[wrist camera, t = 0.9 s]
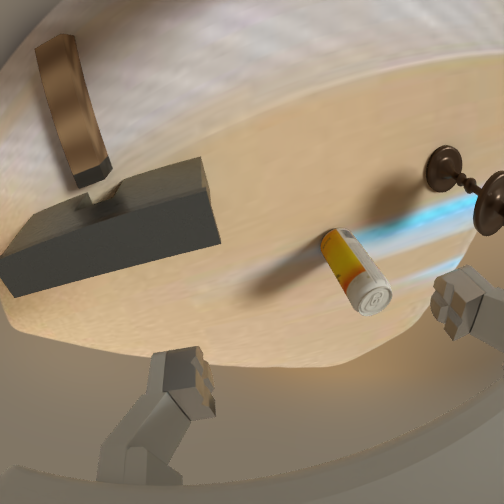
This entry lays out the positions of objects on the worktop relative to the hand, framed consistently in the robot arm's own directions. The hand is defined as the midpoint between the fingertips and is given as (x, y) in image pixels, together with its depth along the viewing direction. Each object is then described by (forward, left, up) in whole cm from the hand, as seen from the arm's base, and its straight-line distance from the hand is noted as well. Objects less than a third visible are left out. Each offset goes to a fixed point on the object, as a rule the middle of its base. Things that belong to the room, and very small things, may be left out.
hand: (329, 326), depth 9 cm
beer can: (+23, +14, -33) cm, 42 cm away
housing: (+6, -18, -33) cm, 38 cm away
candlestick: (+13, +37, -33) cm, 51 cm away
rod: (-8, -18, -33) cm, 39 cm away
